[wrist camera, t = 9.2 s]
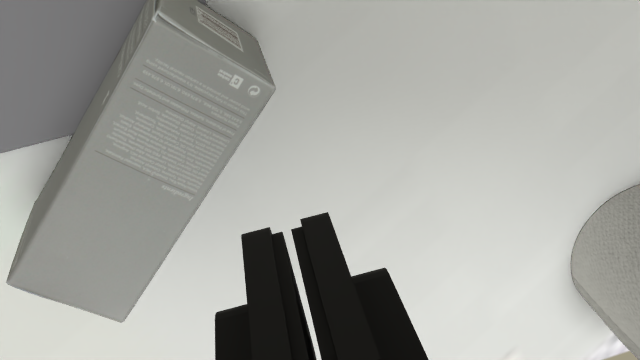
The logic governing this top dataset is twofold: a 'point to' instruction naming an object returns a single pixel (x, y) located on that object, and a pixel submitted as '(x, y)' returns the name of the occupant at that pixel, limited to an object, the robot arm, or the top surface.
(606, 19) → the top surface
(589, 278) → the toilet paper roll
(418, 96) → the top surface
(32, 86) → the mat
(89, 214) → the skincare box
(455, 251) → the top surface
